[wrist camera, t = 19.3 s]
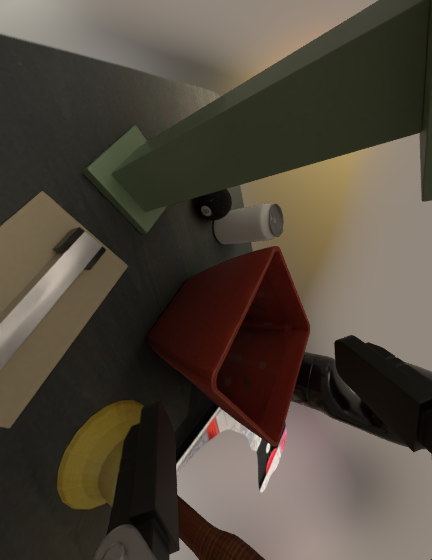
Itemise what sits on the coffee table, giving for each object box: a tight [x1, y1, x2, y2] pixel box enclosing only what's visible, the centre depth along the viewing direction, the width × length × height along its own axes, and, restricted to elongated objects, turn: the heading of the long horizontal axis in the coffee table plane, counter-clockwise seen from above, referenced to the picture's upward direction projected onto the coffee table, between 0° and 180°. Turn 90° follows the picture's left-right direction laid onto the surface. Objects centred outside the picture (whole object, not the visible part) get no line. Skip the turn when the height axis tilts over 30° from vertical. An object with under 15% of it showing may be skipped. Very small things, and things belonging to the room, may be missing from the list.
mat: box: [0, 191, 128, 428], centre depth 23 cm, size 20×12×1 cm, turn 142°
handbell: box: [57, 400, 265, 560], centre depth 22 cm, size 12×12×25 cm
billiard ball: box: [197, 189, 232, 220], centre depth 41 cm, size 6×6×6 cm
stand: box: [82, 0, 432, 234], centre depth 22 cm, size 14×10×32 cm
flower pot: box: [147, 246, 310, 446], centre depth 35 cm, size 19×19×17 cm
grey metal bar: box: [0, 227, 106, 370], centre depth 22 cm, size 18×4×2 cm, turn 143°
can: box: [213, 203, 284, 244], centre depth 44 cm, size 6×6×12 cm
